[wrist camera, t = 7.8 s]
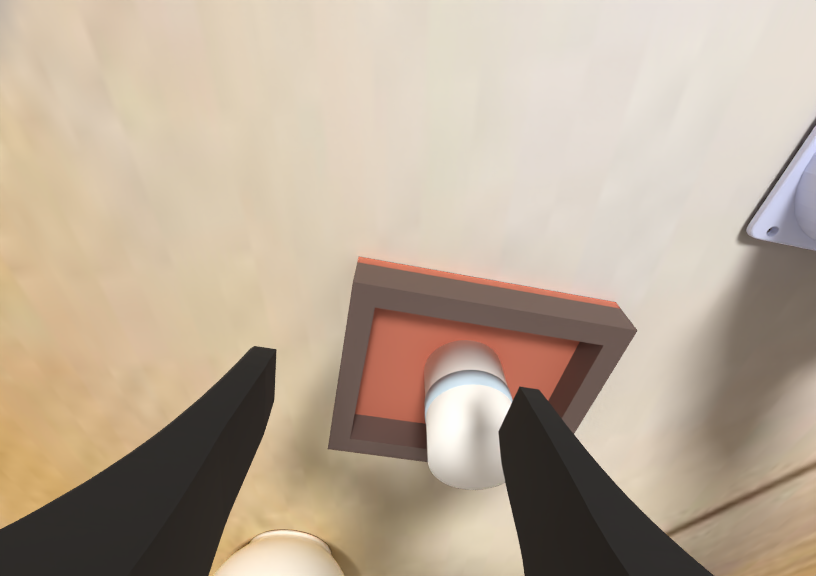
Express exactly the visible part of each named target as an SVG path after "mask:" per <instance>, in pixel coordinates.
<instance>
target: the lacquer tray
mask: <svg viewBox="0 0 816 576" xmlns="http://www.w3.org/2000/svg"><path fill="white" fill-rule="evenodd" d="M636 332H637V329H636V328H635V327H634V325H633V324H632V323H631V322H630V320H629V319H628V318H627V316H626V315H625V314H624V312H623V311H622V310H621V308H620V307H619V306H618V305H617V303H616V302H611V301H606V300H600V299H594V298H589V297H583V296H577V295H572V294H566V293H561V292H555V291H549V290H544V289H538V288H532V287H527V286H521V285H515V284H510V283H504V282H499V281H493V280H487V279H482V278H476V277H470V276H465V275H459V274H454V273H448V272H442V271H437V270H431V269H425V268H420V267H414V266H408V265H403V264H397V263H392V262H386V261H380V260H375V259H369V258H363V257H359V258H358V262H357V267H356V271H355V276H354V280H353V285H352V292H351V299H350V305H349V312H348V319H347V325H346V332H345V339H344V345H343V352H342V358H341V365H340V372H339V378H338V385H337V392H336V398H335V405H334V411H333V418H332V425H331V431H330V438H329V445H328V449H332V450H339V451H347V452H355V453H362V454H370V455H378V456H385V457H393V458H401V459H408V460H416V461H424V462H428V454H427V429H426V422H425V404H424V403H425V381H424V367H425V363H426V361H427V359H428V358H429V356H430V355H431V354H432V353H433V352H434V351H435V350H436V349H438V348H439V347H441V346H443V345H444V344H447V343H450V342H453V341H459V340H471V341H477V342H480V343H483V344H485V345H487V346H489V347H490V348H491V349H493V350H494V351H495V352H496V354H497V355H498V357H499V359H500V361H501V365H502V368H503V372H504V375H505V379H506V382H507V386H508V388H509V390H510V393H511V396H512V400H513V399H514V397H515V395H516V393H517V391H518V389H519V386H520V387H526V388H533V389H539V390H540V391H541V393H542V394H543V395H544V396H545V398H546V399H547V400H548V401H549V403H550V404H551V405H552V407H553V408H554V409H555V411H556V412H557V413H558V414H559V416H560V417H561V418H562V420H563V421H564V422H565V424H566V425H567V426H568V427H569V429H570V430H571V431H572V433H573V434H574V433H575V431H576V430H577V428H578V426H579V425H580V423H581V422H582V420H583V418H584V417H585V415H586V413H587V412H588V410H589V409H590V407H591V405H592V404H593V402H594V400H595V399H596V397H597V396H598V394H599V392H600V391H601V389H602V387H603V386H604V384H605V382H606V381H607V379H608V378H609V376H610V374H611V373H612V371H613V369H614V368H615V366H616V365H617V363H618V361H619V360H620V358H621V356H622V355H623V353H624V352H625V350H626V348H627V347H628V345H629V343H630V342H631V340H632V339H633V337H634V335H635V334H636Z"/></svg>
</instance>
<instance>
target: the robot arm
mask: <svg viewBox="0 0 816 576" xmlns="http://www.w3.org/2000/svg"><path fill="white" fill-rule="evenodd" d="M771 227H772V229H771V230H770V231H769V232H767V231H768V230H769V229H770V228H771ZM747 233H748V235H750V236H751V237H753V238H755V239H760V240H765V241H770V242H775V243H780V244H784V245H789V246H794V247H799V248H804V249H809V250H814V251H816V126H815V127H814V129H813V130H812V132H811V133H810V135H809V136H808V138H807V139H806V141H805V142H804V143H803V145H802V146H801V148H800V149H799V151H798V152H797V154H796V155H795V157H794V158H793V160H792V161H791V163H790V164H789V166H788V167H787V169H786V170H785V172H784V173H783V174H782V176H781V177H780V179H779V180H778V182H777V183H776V185H775V186H774V188H773V189H772V191H771V192H770V194H769V195H768V197H767V198H766V200H765V201H764V203H763V204H762V206H761V207H760V208H759V210H758V211H757V213H756V214H755V216H754V217H753V219H752V220H751V222H750V223H749V225H748V227H747ZM275 370H276V349H270V348H264V347H257V346H254V347H252V348H251V349H250V350H249V351H248V352H247V353H246V354H245V355H244V356H243V357H242V358H241V359H240V360H239V361H238V362H237V363H236V364H235V365H234V366H233V367H232V368H231V369H230V370H229V371H228V372H227V373H226V374H225V375H224V376H223V377H222V378H221V379H220V380H219V381H218V382H217V383H216V384H215V385H214V386H213V387H212V388H210V389H209V390H208V391H207V392H206V393H205V394H204V395H203V396H202V397H201V398H200V399H198V400H197V401H196V402H195V403H194V404H193V405H191V406H190V407H189V408H188V409H187V410H185V411H184V412H183V413H182V414H181V415H179V416H178V417H177V418H176V419H175V420H173V421H172V422H171V423H170V424H168V425H167V426H166V427H165V428H163V429H162V430H161V431H159V432H158V433H157V434H155V435H154V436H153V437H151V438H150V439H149V440H147V441H146V442H145V443H143V444H142V445H140V446H139V447H138V448H136V449H135V450H133V451H132V452H131V453H129V454H128V455H126V456H125V457H123V458H122V459H120V460H119V461H117V462H116V463H114V464H113V465H111V466H110V467H108V468H107V469H105V470H104V471H102V472H100V473H99V474H97V475H96V476H94V477H92V478H91V479H89V480H88V481H86V482H84V483H83V484H81V485H79V486H78V487H76V488H74V489H72V490H71V491H69V492H67V493H65V494H64V495H62V496H60V497H59V498H57V499H55V500H53V501H52V502H50V503H48V504H46V505H45V506H43V507H41V508H40V509H38V510H36V511H34V512H32V513H31V514H29V515H27V516H25V517H23V518H21V519H20V520H18V521H16V522H14V523H12V524H10V525H8V526H6V527H4V528H2V529H0V576H208V575H209V572H210V569H211V566H212V563H213V560H214V557H215V554H216V551H217V548H218V545H219V542H220V539H221V536H222V533H223V530H224V527H225V524H226V522H227V519H228V517H229V514H230V511H231V509H232V507H233V504H234V502H235V500H236V497H237V495H238V493H239V490H240V488H241V486H242V484H243V481H244V479H245V477H246V474H247V472H248V470H249V467H250V465H251V463H252V461H253V458H254V456H255V454H256V451H257V449H258V447H259V444H260V442H261V440H262V437H263V435H264V432H265V429H266V426H267V422H268V419H269V416H270V413H271V409H272V406H273V403H274V394H275ZM498 433H499V445H500V455H501V463H502V469H503V474H504V478H505V483H506V487H507V491H508V496H509V500H510V504H511V509H512V513H513V517H514V522H515V526H516V530H517V535H518V539H519V544H520V549H521V554H522V559H523V566H524V574H525V576H714V575H713V574H711V573H710V572H709V571H708V570H706V569H705V568H704V567H703V566H702V565H701V564H699V563H698V562H697V561H696V560H695V559H693V558H692V557H691V556H690V555H689V554H688V553H686V552H685V551H684V550H683V549H682V548H681V547H680V546H679V545H678V544H676V543H675V542H674V541H673V540H672V539H671V538H670V537H669V536H667V535H666V534H665V533H664V532H663V531H662V530H661V529H660V528H659V527H658V526H657V525H656V524H655V523H653V522H652V521H651V520H650V519H649V518H648V517H647V516H646V515H645V514H644V513H643V512H642V511H641V510H640V509H639V508H638V507H637V506H636V505H635V504H634V503H633V502H632V501H631V500H630V499H629V498H628V497H627V496H626V494H625V493H624V492H623V491H622V490H621V489H620V488H619V487H618V486H617V485H616V484H615V483H614V481H613V480H612V479H611V478H610V477H609V476H608V475H607V474H606V472H605V471H604V470H603V469H602V468H601V467H600V466H599V464H598V463H597V462H596V461H595V460H594V458H593V457H592V456H591V455H590V454H589V452H588V451H587V450H586V449H585V448H584V446H583V445H582V444H581V443H580V441H579V440H578V439H577V438H576V436H575V435H574V434H573V433H572V431H571V430H570V429H569V427H568V426H567V425H566V424H565V422H564V421H563V420H562V418H561V417H560V416H559V414H558V413H557V412H556V411H555V409H554V408H553V407H552V405H551V404H550V403H549V401H548V400H547V399H546V398H545V396H544V395H543V394H542V393H541V391H540V390H539V389H533V388H526V387H520V386H519V389H518V391H517V393H516V395H515V397H514V399H513V401H512V403H511V406H510V408H509V410H508V412H507V414H506V416H505V418H504V421H503V423H502V425H501V427H500V429H499V431H498Z"/></svg>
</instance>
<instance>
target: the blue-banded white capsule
mask: <svg viewBox="0 0 816 576" xmlns="http://www.w3.org/2000/svg"><path fill="white" fill-rule="evenodd" d="M424 381H425V403H424V404H425V422H426V429H427V454H428V465H429V468H430V470H431V472H432V473H433V475H434V476H435V477H436V478H437V479H439V480H440V481H441V482H443V483H445V484H447V485H449V486H452V487H455V488H460V489H467V490H480V489H487V488H492V487H495V486H498V485H501V484H503V483H505V478H504V474H503V469H502V463H501V455H500V445H499V433H498V431H499V429H500V427H501V425H502V423H503V421H504V418H505V416H506V414H507V412H508V410H509V408H510V406H511V403H512V401H513V400H512V396H511V393H510V390H509V388H508V386H507V382H506V379H505V375H504V372H503V368H502V365H501V361H500V359H499V357H498V355H497V354H496V352H495V351H494V350H493V349H491V348H490V347H489V346H487V345H485V344H483V343H480V342H477V341H471V340H459V341H453V342H450V343H447V344H444V345H443V346H441V347H439V348H438V349H436V350H435V351H434V352H433V353H432V354H431V355H430V356H429V358H428V359H427V361H426V363H425V367H424Z"/></svg>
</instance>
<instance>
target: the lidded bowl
mask: <svg viewBox="0 0 816 576" xmlns="http://www.w3.org/2000/svg"><path fill="white" fill-rule="evenodd" d="M213 576H344V574H343V572H342V570H341V568H340V566H339V565H338V563H337V562H336V561H335V559H334V558H333V557H332V556H331V550H330V548H329V547H328V545H327V544H326V543H325V542H323V541H322V540H321V539H319V538H317V537H315V536H313V535H310V534H308V533H304V532H300V531H294V530H273V531H268V532H264V533H261V534H259V535H257V536H256V537H254V538H253V539H252V540H251V541H250V543H249V544H248V545H246V546H244V547H243V548H241V549H240V550H238V551H237V552H236V553H234V554H233V555H231V556H230V557H229V558H228V559H227V560H226V561H225V562H224V563H223V564H222V565H221V566H220V567H219V568H218V569H217V571H216V572H215V573H214V575H213Z"/></svg>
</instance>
